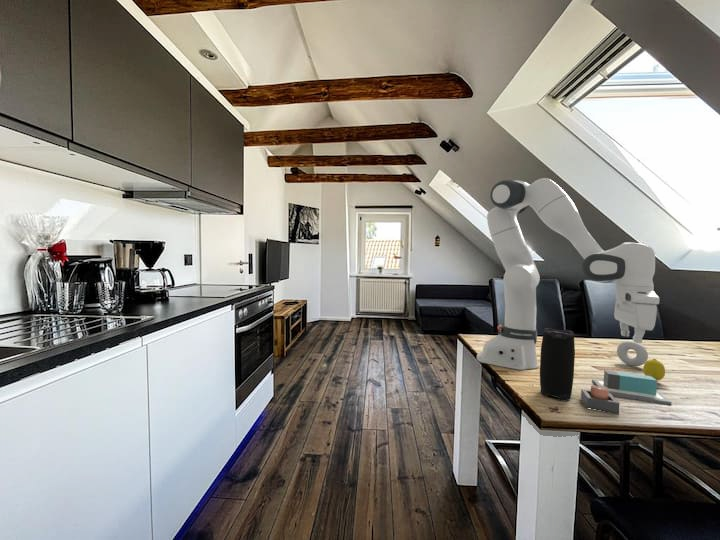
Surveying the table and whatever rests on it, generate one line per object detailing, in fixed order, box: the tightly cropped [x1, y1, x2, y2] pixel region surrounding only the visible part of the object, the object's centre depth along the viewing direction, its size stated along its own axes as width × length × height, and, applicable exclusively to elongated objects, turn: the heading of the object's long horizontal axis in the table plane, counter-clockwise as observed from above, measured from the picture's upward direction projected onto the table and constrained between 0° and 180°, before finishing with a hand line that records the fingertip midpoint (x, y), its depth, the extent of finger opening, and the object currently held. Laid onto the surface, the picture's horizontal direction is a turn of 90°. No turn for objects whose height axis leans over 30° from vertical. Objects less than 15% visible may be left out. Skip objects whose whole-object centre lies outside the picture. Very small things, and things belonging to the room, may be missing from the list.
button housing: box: [580, 388, 621, 415], centre depth 89 cm, size 7×7×3 cm
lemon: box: [642, 358, 666, 381], centre depth 110 cm, size 6×6×8 cm
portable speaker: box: [539, 327, 576, 401], centre depth 95 cm, size 9×9×20 cm
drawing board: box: [591, 378, 673, 406], centre depth 100 cm, size 16×12×1 cm
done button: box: [590, 385, 609, 400], centre depth 89 cm, size 4×4×3 cm
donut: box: [616, 340, 649, 367], centre depth 128 cm, size 10×4×10 cm, turn 28°
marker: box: [603, 369, 658, 395], centre depth 100 cm, size 12×4×4 cm, turn 68°
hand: (630, 339), depth 100 cm, fingers open, 8 cm apart
